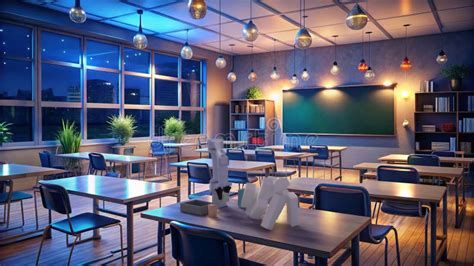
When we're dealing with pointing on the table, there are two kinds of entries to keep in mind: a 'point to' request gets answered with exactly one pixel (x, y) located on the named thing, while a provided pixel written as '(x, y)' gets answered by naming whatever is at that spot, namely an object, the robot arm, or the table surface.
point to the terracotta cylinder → (212, 210)
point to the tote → (195, 207)
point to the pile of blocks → (270, 201)
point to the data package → (240, 197)
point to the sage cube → (224, 198)
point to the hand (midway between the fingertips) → (223, 199)
